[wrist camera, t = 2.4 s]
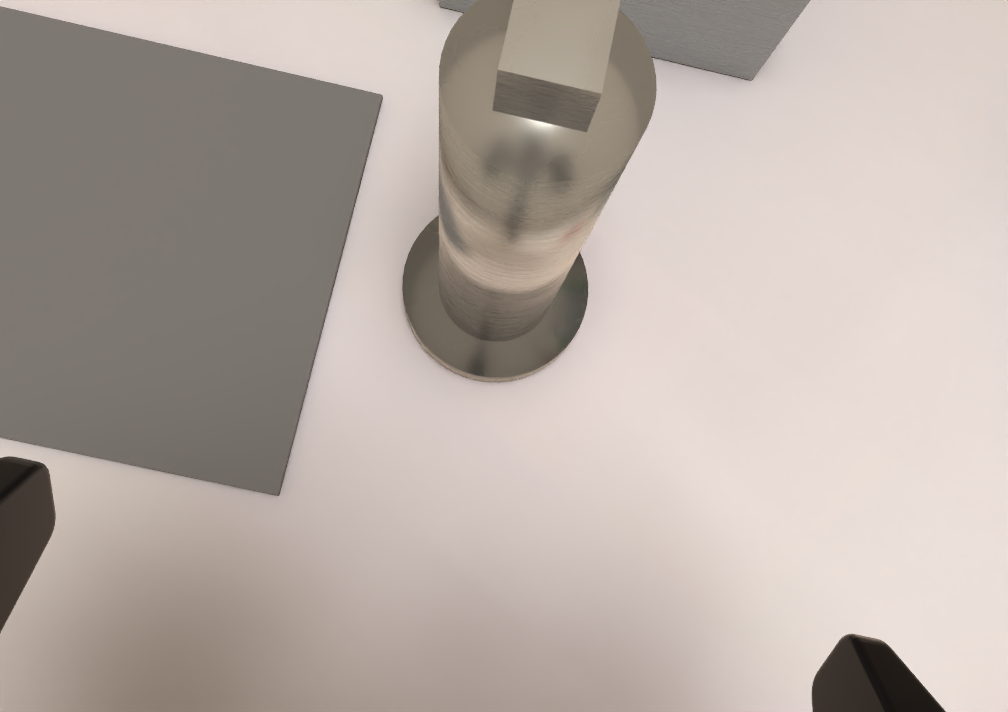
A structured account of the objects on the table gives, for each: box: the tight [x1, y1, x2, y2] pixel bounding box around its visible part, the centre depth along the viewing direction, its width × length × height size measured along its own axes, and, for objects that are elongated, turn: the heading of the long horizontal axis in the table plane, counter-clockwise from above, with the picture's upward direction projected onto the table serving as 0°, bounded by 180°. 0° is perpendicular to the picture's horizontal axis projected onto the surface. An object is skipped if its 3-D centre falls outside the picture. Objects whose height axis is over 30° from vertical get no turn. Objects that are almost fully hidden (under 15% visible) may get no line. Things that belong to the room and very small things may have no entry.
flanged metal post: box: [403, 0, 656, 382], centre depth 17 cm, size 6×5×13 cm
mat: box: [0, 6, 383, 496], centre depth 23 cm, size 12×12×1 cm
